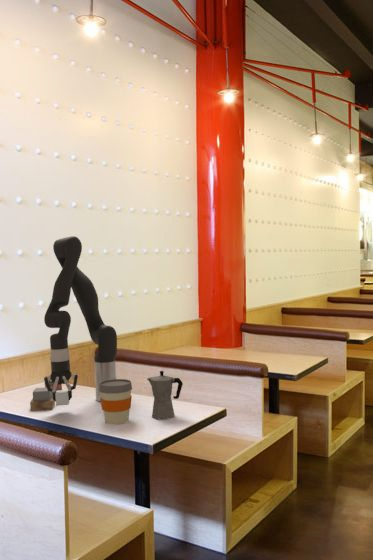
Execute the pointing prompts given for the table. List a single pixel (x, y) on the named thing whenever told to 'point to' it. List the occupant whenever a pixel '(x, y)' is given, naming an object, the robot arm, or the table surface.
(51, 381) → the lighter
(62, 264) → the robot arm
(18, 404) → the table surface
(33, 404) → the walnut block
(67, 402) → the top block
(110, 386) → the reusable coffee cup
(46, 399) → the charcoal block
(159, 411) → the coffeepot
